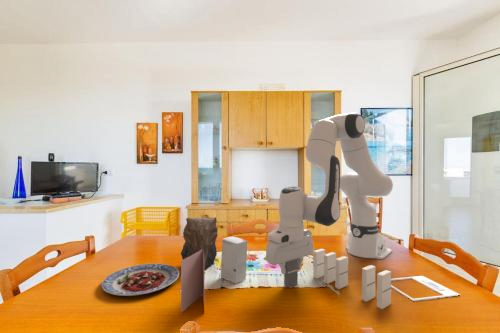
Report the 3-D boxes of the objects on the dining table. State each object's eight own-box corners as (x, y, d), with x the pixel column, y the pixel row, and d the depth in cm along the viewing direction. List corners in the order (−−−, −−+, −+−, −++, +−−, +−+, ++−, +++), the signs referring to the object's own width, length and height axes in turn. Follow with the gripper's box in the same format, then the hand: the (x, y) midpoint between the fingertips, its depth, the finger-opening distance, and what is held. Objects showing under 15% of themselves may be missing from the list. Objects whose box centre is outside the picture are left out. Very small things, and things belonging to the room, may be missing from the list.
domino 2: (313, 277, 99) (313, 250, 99) (321, 273, 102) (321, 248, 102) (316, 278, 98) (316, 252, 98) (325, 275, 101) (325, 249, 101)
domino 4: (335, 287, 91) (335, 258, 91) (343, 283, 94) (344, 255, 94) (339, 289, 90) (339, 260, 90) (348, 285, 93) (348, 257, 93)
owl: (179, 265, 110) (179, 218, 110) (201, 257, 120) (201, 213, 120) (200, 273, 102) (200, 222, 102) (222, 263, 113) (222, 217, 113)
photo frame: (460, 293, 85) (413, 299, 82) (460, 297, 85) (413, 302, 82) (422, 275, 100) (381, 279, 96) (422, 278, 100) (381, 282, 96)
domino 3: (323, 281, 95) (323, 254, 95) (332, 278, 98) (332, 252, 98) (327, 283, 94) (327, 256, 94) (336, 280, 97) (336, 253, 97)
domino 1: (284, 285, 92) (284, 257, 92) (294, 281, 95) (294, 254, 95) (287, 287, 91) (287, 258, 91) (297, 283, 94) (297, 255, 94)
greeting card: (200, 293, 86) (200, 248, 86) (220, 298, 83) (220, 251, 83) (178, 312, 76) (178, 260, 76) (200, 317, 73) (200, 264, 73)
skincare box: (220, 277, 98) (220, 238, 98) (231, 272, 103) (231, 235, 103) (236, 284, 93) (236, 243, 93) (247, 278, 98) (247, 239, 97)
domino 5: (361, 299, 83) (361, 268, 83) (370, 295, 86) (370, 264, 86) (366, 301, 82) (366, 270, 81) (375, 297, 84) (375, 266, 84)
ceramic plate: (192, 273, 102) (192, 266, 102) (146, 308, 78) (146, 298, 78) (139, 265, 111) (139, 258, 111) (83, 293, 87) (83, 284, 86)
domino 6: (376, 306, 79) (377, 273, 79) (385, 301, 82) (385, 269, 82) (382, 309, 77) (382, 275, 77) (390, 304, 80) (391, 271, 80)
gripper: (304, 227, 101) (304, 262, 101) (263, 235, 90) (263, 275, 90) (317, 230, 96) (317, 267, 96) (275, 239, 84) (275, 282, 85)
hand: (291, 271), depth 93 cm, fingers closed on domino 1, 5 cm apart
